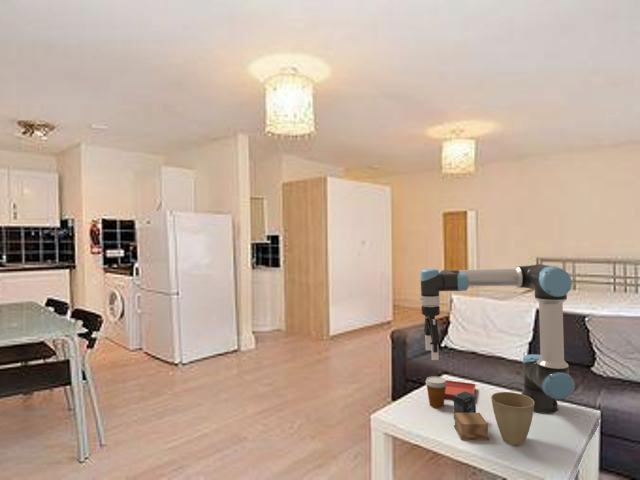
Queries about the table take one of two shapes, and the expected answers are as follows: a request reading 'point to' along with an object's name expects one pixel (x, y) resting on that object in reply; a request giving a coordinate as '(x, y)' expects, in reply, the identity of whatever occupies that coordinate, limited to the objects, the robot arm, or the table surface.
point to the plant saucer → (458, 388)
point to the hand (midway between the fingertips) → (431, 354)
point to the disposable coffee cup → (436, 391)
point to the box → (464, 403)
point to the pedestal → (471, 426)
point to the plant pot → (513, 416)
